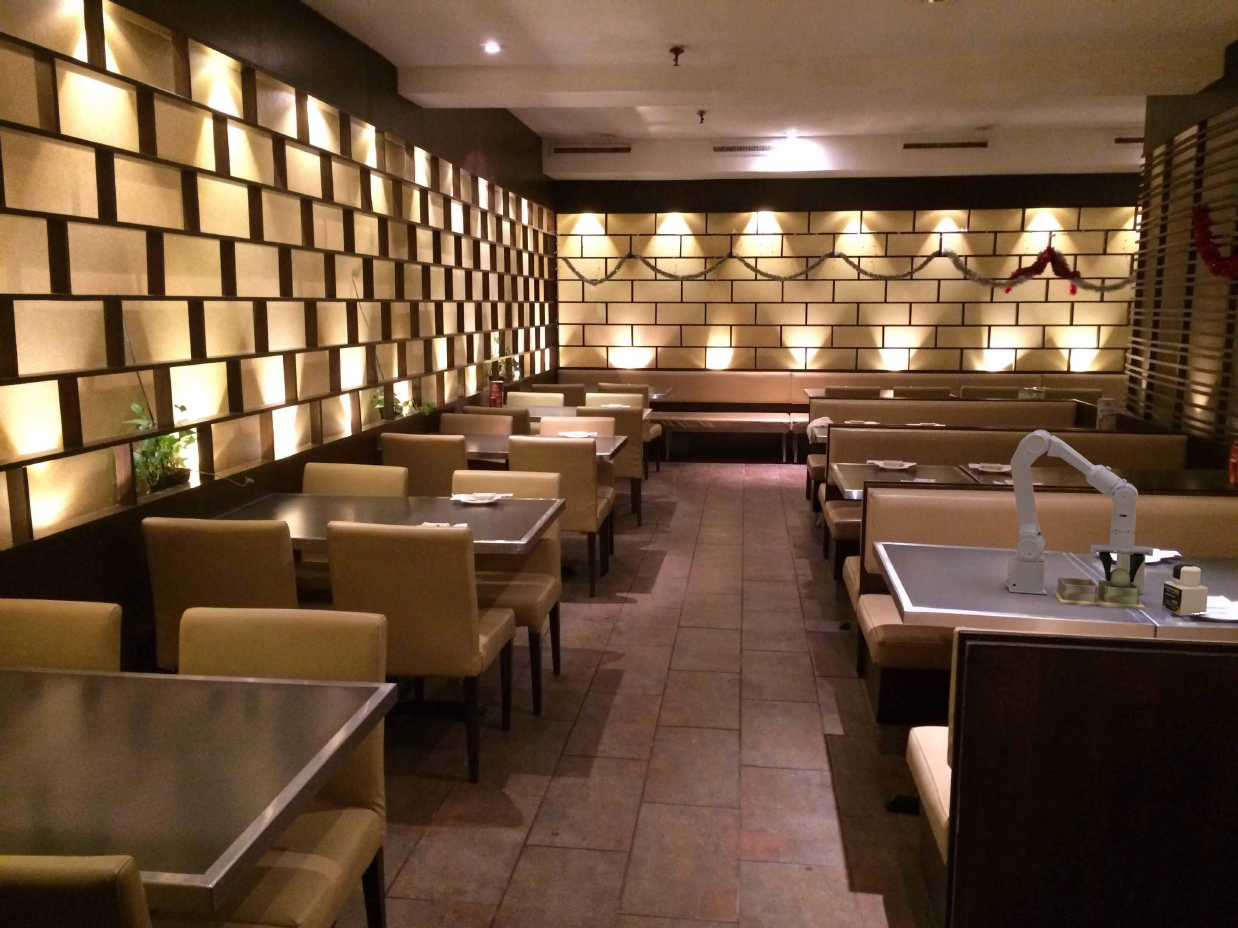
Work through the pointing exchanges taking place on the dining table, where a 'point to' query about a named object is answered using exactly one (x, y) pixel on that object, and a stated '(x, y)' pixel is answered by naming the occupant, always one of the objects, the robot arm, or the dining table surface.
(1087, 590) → the sorting board
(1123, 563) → the skincare box
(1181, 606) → the medicine bottle
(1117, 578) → the sage ball
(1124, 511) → the robot arm
